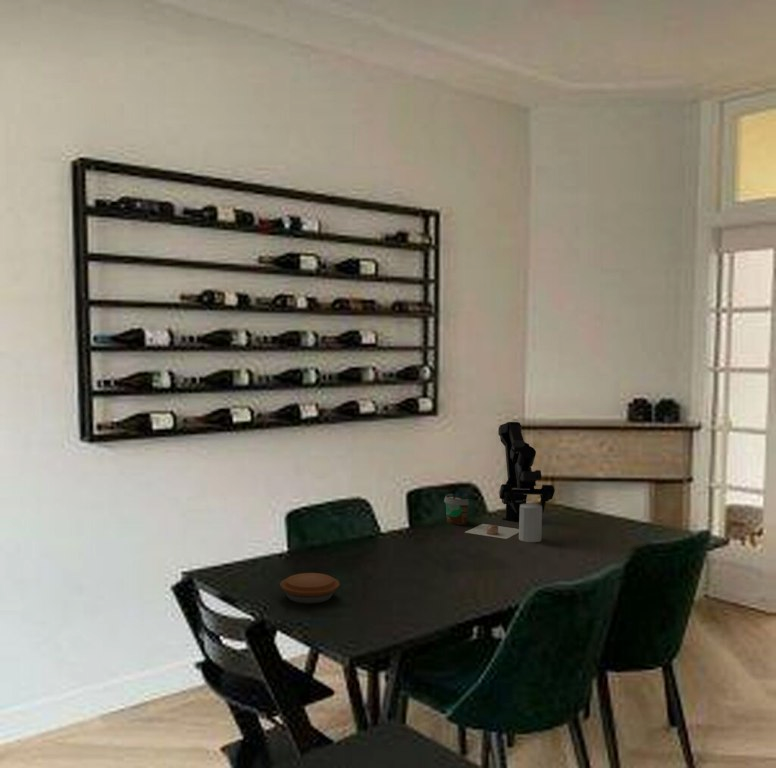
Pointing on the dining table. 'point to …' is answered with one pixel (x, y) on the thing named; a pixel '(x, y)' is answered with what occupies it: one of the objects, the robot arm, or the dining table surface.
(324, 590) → the pie
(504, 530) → the placemat
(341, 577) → the dining table surface
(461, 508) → the food container
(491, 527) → the brown short rounded piece
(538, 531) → the cover cup
